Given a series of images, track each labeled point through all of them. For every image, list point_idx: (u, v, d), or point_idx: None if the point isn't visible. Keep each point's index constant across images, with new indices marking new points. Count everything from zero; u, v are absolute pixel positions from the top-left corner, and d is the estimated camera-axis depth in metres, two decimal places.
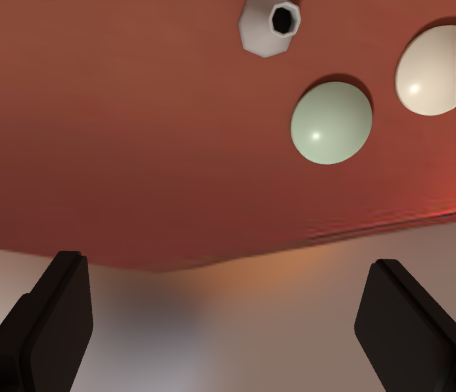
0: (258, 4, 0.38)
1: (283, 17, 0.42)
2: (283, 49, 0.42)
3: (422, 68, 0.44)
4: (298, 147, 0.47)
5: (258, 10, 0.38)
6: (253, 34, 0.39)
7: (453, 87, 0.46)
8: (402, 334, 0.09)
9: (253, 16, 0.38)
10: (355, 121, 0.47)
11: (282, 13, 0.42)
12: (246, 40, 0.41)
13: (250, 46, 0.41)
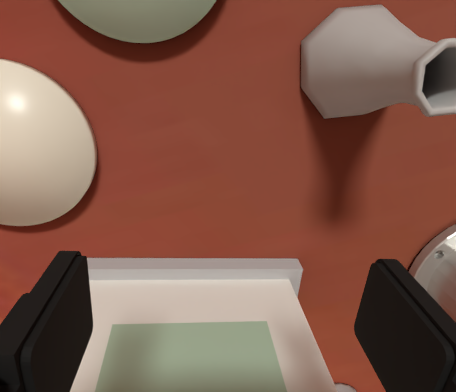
0: None
1: None
2: (318, 39, 0.21)
3: (42, 140, 0.22)
4: None
5: None
6: None
7: None
8: (402, 334, 0.09)
9: None
10: None
11: None
12: None
13: (383, 12, 0.21)
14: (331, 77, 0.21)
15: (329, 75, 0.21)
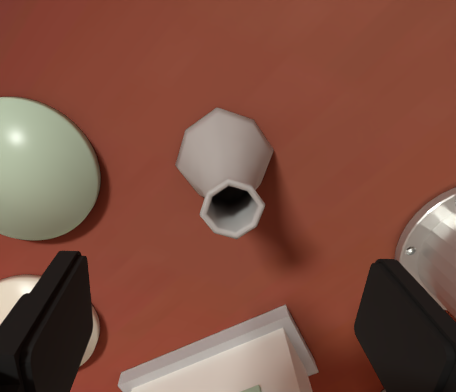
0: (263, 166, 0.23)
1: None
2: (180, 164, 0.25)
3: None
4: (1, 101, 0.23)
5: (258, 164, 0.23)
6: (231, 136, 0.23)
7: None
8: (402, 334, 0.09)
9: (254, 151, 0.23)
10: (10, 211, 0.27)
11: None
12: (226, 119, 0.24)
13: (215, 120, 0.24)
14: (201, 191, 0.25)
15: (199, 190, 0.25)
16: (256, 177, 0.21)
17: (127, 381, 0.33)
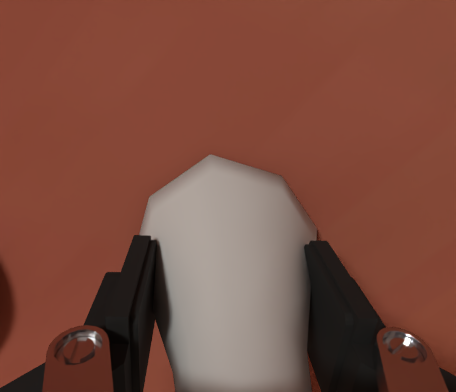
0: None
1: None
2: None
3: None
4: None
5: (302, 291, 0.10)
6: (241, 228, 0.10)
7: None
8: (321, 307, 0.10)
9: (291, 259, 0.11)
10: None
11: None
12: (230, 184, 0.12)
13: (207, 186, 0.12)
14: None
15: None
16: (305, 341, 0.09)
17: None
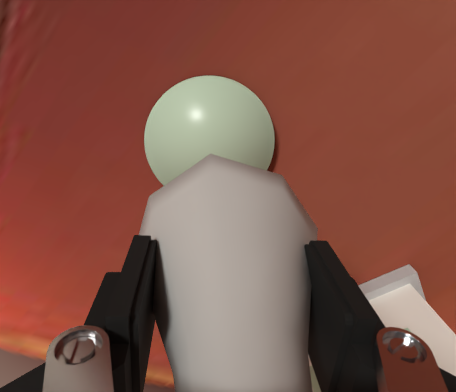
0: None
1: None
2: None
3: None
4: (208, 78, 0.27)
5: (302, 290, 0.10)
6: (241, 227, 0.10)
7: None
8: (320, 307, 0.10)
9: (292, 259, 0.11)
10: None
11: None
12: (231, 183, 0.12)
13: (207, 185, 0.12)
14: None
15: None
16: (306, 340, 0.09)
17: None
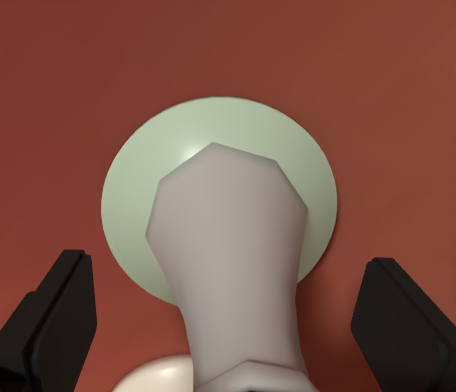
0: (299, 253, 0.13)
1: None
2: (152, 239, 0.15)
3: None
4: (220, 104, 0.14)
5: (292, 254, 0.12)
6: (240, 202, 0.12)
7: None
8: (397, 332, 0.09)
9: (283, 229, 0.12)
10: None
11: None
12: (230, 166, 0.14)
13: (210, 168, 0.13)
14: None
15: None
16: (294, 292, 0.11)
17: None
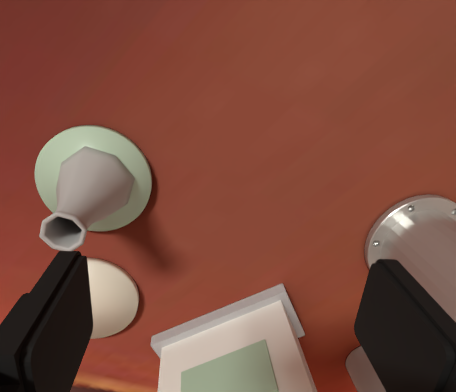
0: (115, 194, 0.31)
1: None
2: (57, 189, 0.33)
3: (103, 289, 0.39)
4: (87, 129, 0.32)
5: (107, 193, 0.30)
6: (87, 171, 0.30)
7: None
8: (402, 334, 0.09)
9: (105, 183, 0.30)
10: None
11: None
12: (89, 157, 0.31)
13: (80, 157, 0.31)
14: None
15: None
16: (100, 204, 0.29)
17: (159, 342, 0.43)
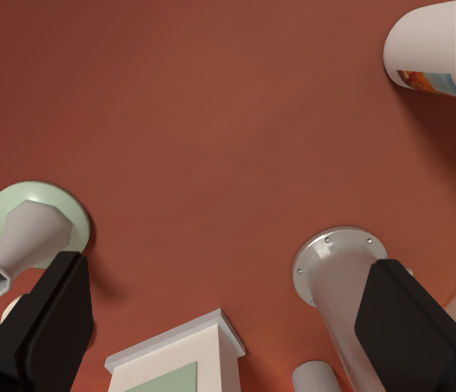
0: (49, 241, 0.36)
1: None
2: None
3: None
4: (27, 185, 0.38)
5: (40, 241, 0.35)
6: (24, 223, 0.36)
7: None
8: (402, 334, 0.09)
9: (39, 232, 0.36)
10: None
11: None
12: (28, 209, 0.37)
13: (20, 210, 0.37)
14: None
15: None
16: (32, 252, 0.34)
17: (111, 363, 0.48)
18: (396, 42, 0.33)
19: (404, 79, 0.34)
